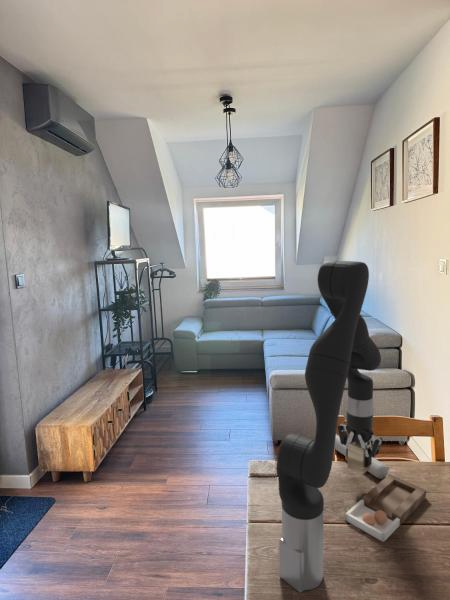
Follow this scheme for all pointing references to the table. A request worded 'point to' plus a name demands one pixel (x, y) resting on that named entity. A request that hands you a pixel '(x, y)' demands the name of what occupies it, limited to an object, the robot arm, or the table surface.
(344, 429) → the robot arm
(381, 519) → the ball
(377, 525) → the tray
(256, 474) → the table surface
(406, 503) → the slot board
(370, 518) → the ball
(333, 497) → the table surface
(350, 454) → the block
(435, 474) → the table surface
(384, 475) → the tube
